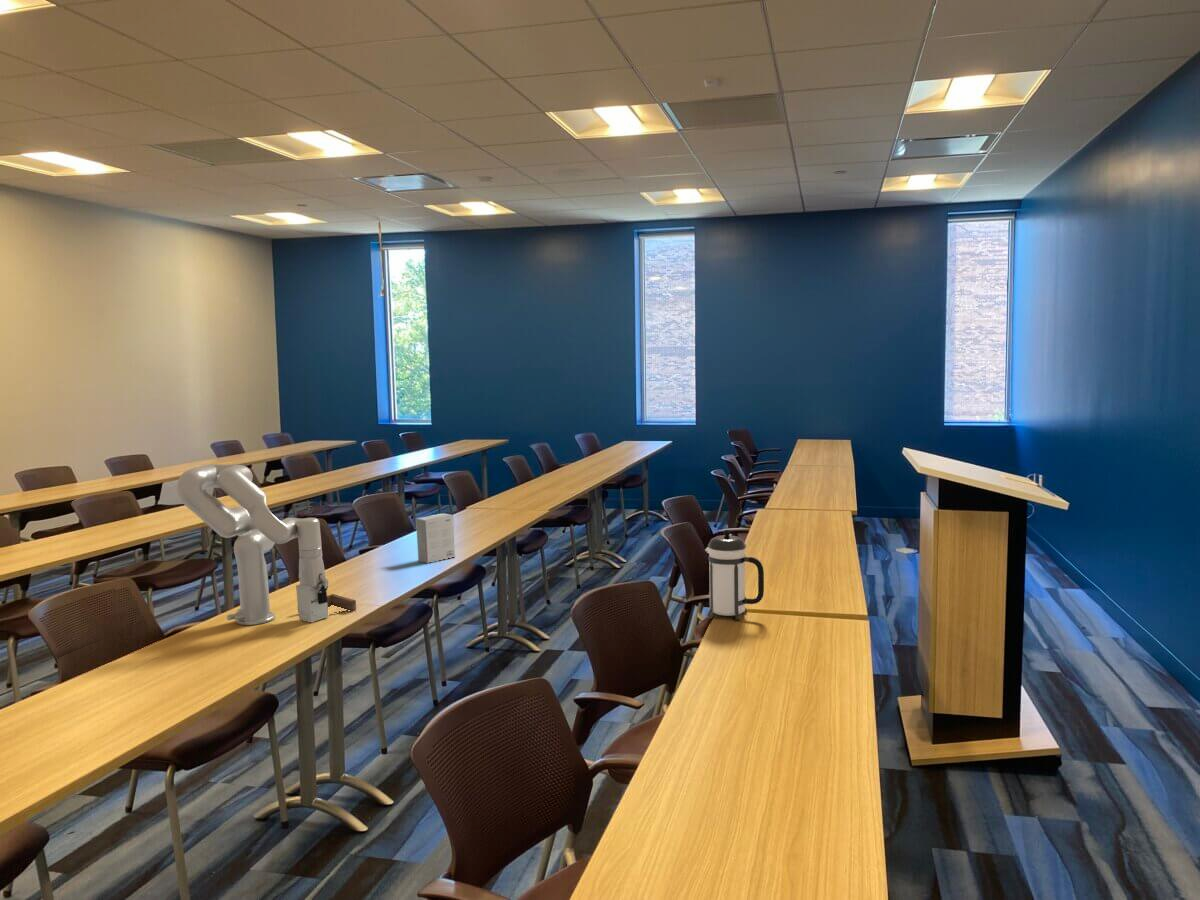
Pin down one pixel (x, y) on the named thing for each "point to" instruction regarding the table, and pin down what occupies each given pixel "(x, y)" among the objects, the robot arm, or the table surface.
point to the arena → (341, 602)
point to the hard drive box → (435, 537)
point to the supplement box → (310, 604)
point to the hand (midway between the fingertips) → (315, 601)
